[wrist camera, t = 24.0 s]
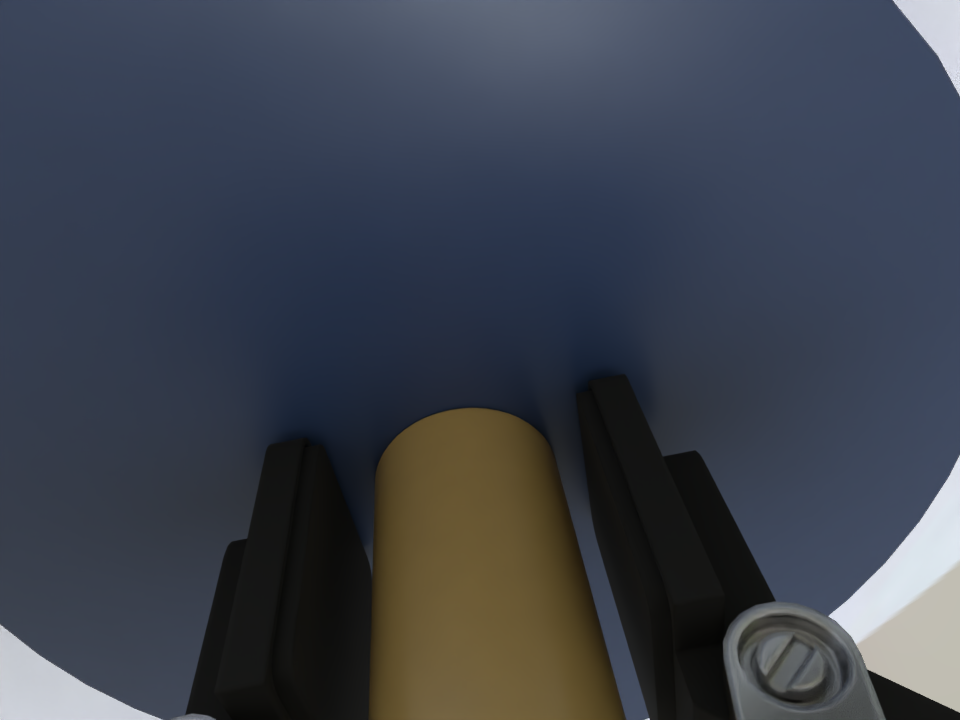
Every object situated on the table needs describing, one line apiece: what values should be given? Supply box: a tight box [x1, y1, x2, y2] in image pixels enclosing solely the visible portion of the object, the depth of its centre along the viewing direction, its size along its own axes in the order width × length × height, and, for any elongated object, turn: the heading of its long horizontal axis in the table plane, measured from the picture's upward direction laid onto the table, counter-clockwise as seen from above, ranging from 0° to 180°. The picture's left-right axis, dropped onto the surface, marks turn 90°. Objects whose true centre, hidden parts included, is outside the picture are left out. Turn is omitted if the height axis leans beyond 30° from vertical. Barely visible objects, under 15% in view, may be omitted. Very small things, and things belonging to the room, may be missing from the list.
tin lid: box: [0, 0, 960, 720], centre depth 10 cm, size 16×16×6 cm
